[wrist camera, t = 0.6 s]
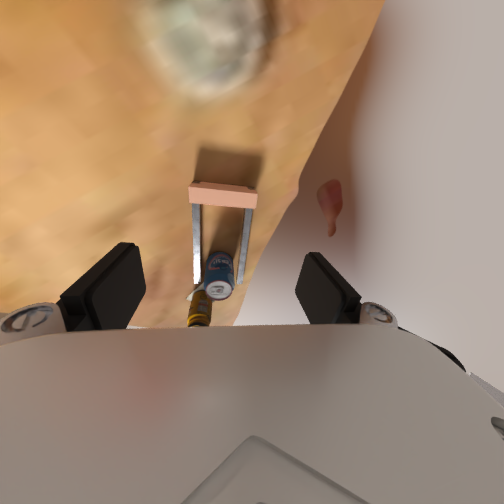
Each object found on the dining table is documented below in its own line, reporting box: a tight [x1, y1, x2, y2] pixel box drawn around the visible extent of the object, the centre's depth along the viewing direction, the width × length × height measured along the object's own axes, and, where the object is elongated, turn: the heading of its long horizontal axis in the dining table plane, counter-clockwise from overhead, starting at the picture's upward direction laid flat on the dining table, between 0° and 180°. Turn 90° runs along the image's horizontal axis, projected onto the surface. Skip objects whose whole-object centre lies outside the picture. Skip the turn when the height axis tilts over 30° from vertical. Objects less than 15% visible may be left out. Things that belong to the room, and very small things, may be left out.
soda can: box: [203, 252, 235, 301], centre depth 45 cm, size 7×7×12 cm
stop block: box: [189, 182, 258, 209], centre depth 38 cm, size 3×13×6 cm, turn 82°
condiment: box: [186, 282, 215, 327], centre depth 51 cm, size 7×8×12 cm
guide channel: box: [192, 181, 255, 284], centre depth 45 cm, size 26×13×2 cm, turn 172°
